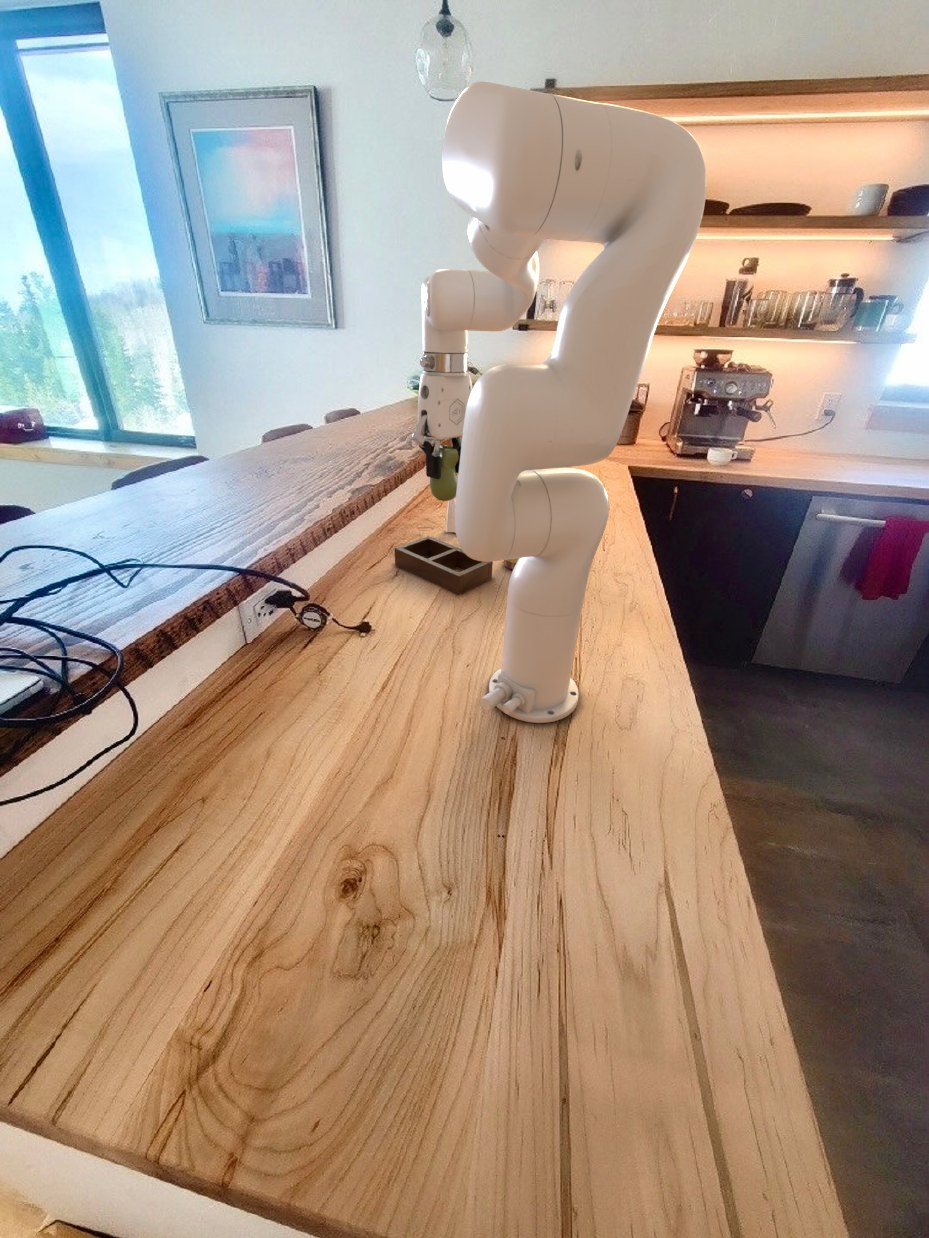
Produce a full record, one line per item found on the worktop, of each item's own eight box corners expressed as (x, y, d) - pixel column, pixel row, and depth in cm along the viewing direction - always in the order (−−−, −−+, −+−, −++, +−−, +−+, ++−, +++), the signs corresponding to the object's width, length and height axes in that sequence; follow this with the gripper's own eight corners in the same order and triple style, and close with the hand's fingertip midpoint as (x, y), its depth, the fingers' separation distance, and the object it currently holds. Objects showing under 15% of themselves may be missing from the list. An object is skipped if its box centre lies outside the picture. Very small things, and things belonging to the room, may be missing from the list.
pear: (443, 494, 99) (444, 441, 94) (464, 500, 96) (466, 445, 91) (424, 500, 95) (424, 445, 90) (445, 506, 92) (446, 449, 87)
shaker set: (495, 532, 125) (498, 488, 119) (492, 538, 122) (495, 493, 116) (449, 526, 127) (450, 483, 122) (444, 532, 124) (445, 488, 118)
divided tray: (458, 595, 96) (459, 576, 94) (395, 565, 107) (394, 547, 105) (491, 579, 103) (492, 561, 101) (428, 552, 113) (428, 535, 111)
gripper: (423, 368, 76) (425, 487, 85) (495, 365, 87) (489, 471, 96) (391, 365, 80) (396, 479, 89) (463, 362, 91) (461, 464, 101)
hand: (444, 473), depth 93 cm, fingers closed on pear, 5 cm apart
